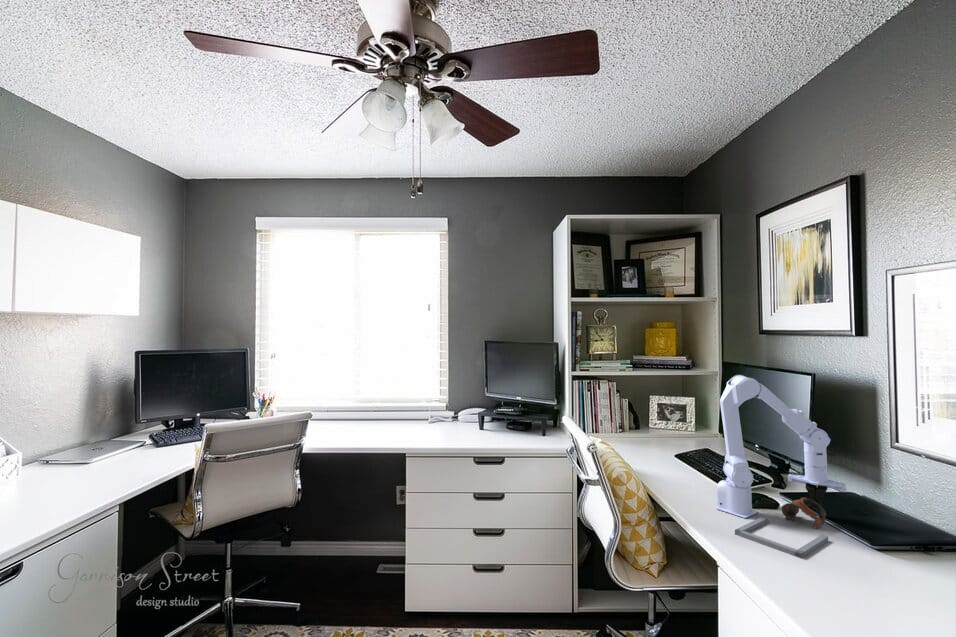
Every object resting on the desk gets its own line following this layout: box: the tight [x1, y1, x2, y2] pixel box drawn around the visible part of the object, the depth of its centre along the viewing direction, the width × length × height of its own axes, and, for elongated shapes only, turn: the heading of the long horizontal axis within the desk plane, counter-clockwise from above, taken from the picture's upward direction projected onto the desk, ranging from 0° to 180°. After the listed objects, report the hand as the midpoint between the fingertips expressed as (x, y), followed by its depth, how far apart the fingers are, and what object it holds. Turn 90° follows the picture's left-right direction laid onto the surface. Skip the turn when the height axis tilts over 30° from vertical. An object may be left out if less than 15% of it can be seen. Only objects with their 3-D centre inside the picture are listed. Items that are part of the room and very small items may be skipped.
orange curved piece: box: [781, 497, 827, 529], centre depth 138 cm, size 12×10×8 cm
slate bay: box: [734, 515, 829, 559], centre depth 129 cm, size 17×16×1 cm
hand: (817, 508), depth 142 cm, fingers closed
